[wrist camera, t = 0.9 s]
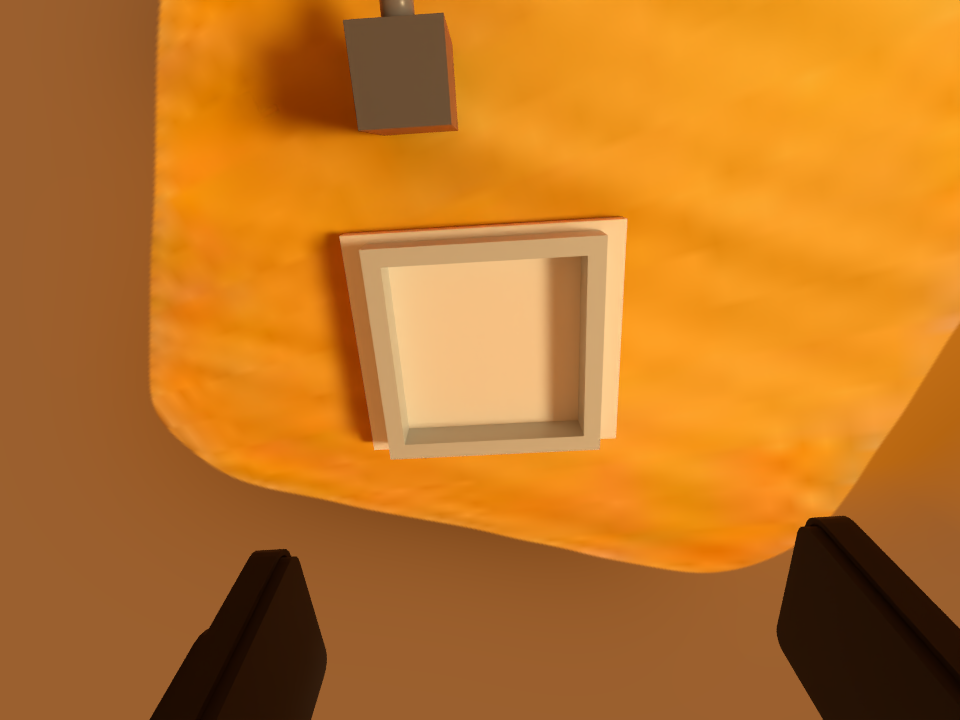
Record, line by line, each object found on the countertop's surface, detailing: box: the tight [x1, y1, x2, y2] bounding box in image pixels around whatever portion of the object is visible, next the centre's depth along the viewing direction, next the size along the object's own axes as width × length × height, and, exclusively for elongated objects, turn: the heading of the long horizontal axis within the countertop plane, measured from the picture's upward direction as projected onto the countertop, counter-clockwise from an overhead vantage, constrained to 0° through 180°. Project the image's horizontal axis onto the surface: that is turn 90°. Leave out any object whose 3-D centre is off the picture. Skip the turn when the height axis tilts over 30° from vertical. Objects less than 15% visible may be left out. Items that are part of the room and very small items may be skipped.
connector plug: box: [343, 0, 458, 135], centre depth 23 cm, size 6×4×6 cm
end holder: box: [339, 217, 627, 459], centre depth 30 cm, size 14×16×3 cm
